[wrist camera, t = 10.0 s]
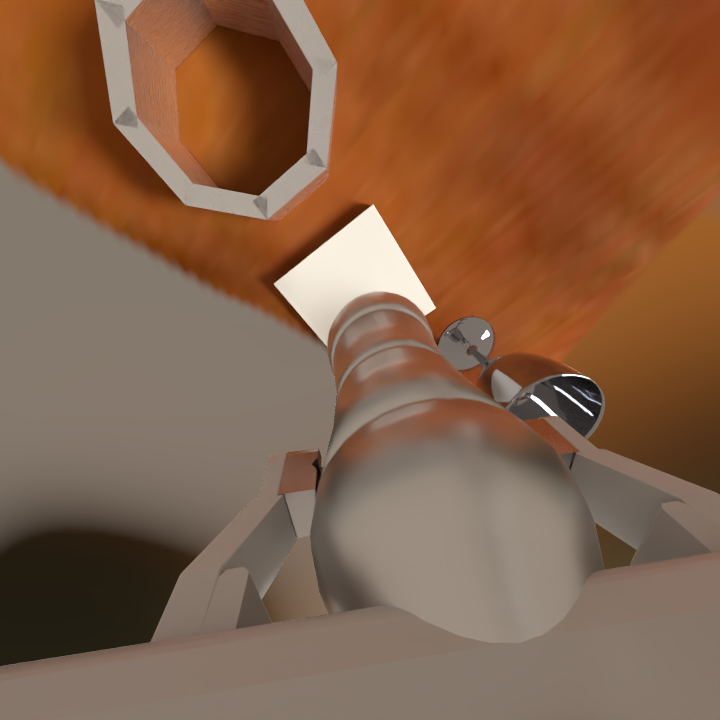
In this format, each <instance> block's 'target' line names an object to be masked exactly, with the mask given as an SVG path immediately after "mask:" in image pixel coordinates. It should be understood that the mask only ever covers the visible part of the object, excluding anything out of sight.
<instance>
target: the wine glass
mask: <svg viewBox="0 0 720 720" xmlns="http://www.w3.org/2000/svg"><path fill="white" fill-rule="evenodd" d="M494 345H495V333H494V330H493V328H492V326H491V325H490V324H489V323H488V322H487V321H485V320H484V319H481V318H478V317H466V318H462V319H459V320H457V321H455V322H454V323H452V324H451V325H450V326H448V328H447V329H446V330H445V331H444V332H443V334H442V335H441V337H440V339H439V343H438V348H439V350H440V351H441V353H442V355H443V356H444V357H445V358H446V359H447V360H448V361H449V362H450V363H451V364H452V365H453V366H454V367H455V368H456V369H457V370H458V371H469V370H472V369H474V368H476V367H478V366H480V365H481V366H482V368H483V370H482V372H481V373H480V375H479V377H478V380H477V383H476V386H477V387H478V388H479V389H481V390H482V391H483V392H485V393H486V394H487V395H489V396H490V397H491V398H493V399H494V400H495V401H497V402H498V403H499V404H501V405H502V406H503V407H505V408H506V409H507V410H509V411H510V412H511V413H513V414H514V415H515V416H517V417H518V418H519V419H521V420H529V419H536V418H541V417H547V416H554V415H555V416H558V417H560V418H561V419H562V420H564V421H565V422H566V423H567V424H568V425H570V426H571V427H572V428H573V429H574V430H576V431H577V432H578V433H579V434H580V435H582V436H583V437H584V438H585V439H586V440H587V439H588V438H589V437H590V436H591V434H592V433H593V432H594V431H595V430H596V428H597V426H598V425H599V423H600V421H601V418H602V416H603V413H604V409H605V399H604V395H603V392H602V390H601V389H600V387H599V386H598V385H597V384H596V383H595V382H593V381H592V380H591V379H589V378H587V377H586V376H584V375H583V374H581V373H579V372H578V371H576V370H574V369H572V368H570V367H568V366H567V365H565V364H563V363H561V362H558V361H556V360H553V359H550V358H547V357H545V356H541V355H537V354H534V353H526V352H514V353H509V354H505V355H503V356H500V357H498V358H496V359H494V360H491V359H489V358H488V357H489V356H490V355H491V353H492V351H493V349H494Z"/></svg>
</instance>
